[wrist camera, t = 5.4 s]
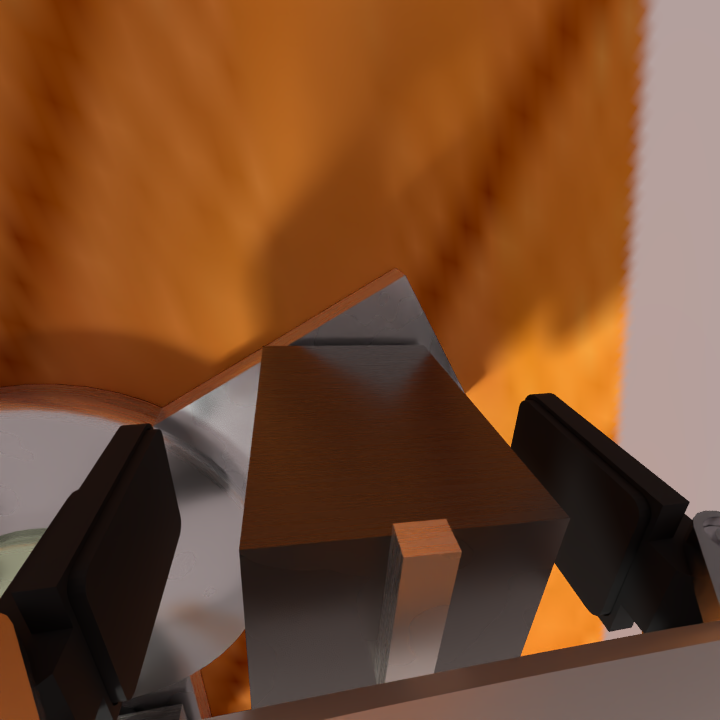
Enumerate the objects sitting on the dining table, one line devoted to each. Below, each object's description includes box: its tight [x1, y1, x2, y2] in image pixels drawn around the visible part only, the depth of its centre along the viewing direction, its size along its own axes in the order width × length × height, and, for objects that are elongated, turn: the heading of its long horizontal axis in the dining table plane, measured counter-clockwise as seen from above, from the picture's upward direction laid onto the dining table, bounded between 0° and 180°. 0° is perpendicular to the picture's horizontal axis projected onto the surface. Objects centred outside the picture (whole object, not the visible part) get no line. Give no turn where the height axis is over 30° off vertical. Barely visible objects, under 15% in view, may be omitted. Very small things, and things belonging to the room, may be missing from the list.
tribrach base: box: [0, 268, 464, 720], centre depth 13 cm, size 26×22×3 cm
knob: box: [239, 345, 570, 709], centre depth 9 cm, size 5×4×7 cm
